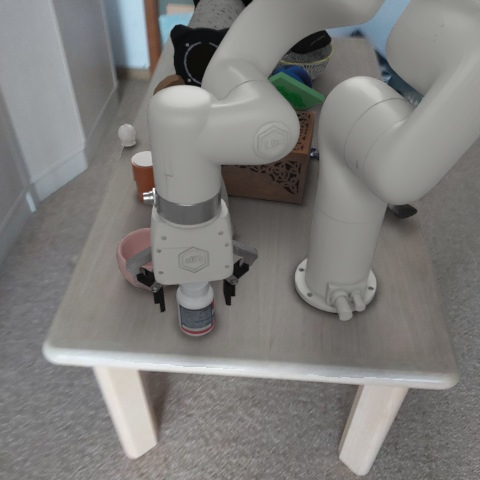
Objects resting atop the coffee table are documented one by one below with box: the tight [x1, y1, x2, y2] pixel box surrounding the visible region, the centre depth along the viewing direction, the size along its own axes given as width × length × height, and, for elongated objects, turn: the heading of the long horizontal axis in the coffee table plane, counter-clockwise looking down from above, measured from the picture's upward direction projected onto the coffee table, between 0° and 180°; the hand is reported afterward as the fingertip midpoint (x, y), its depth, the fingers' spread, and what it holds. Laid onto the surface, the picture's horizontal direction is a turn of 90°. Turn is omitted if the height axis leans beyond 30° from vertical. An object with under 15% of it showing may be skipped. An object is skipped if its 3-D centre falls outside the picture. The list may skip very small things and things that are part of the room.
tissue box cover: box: [221, 110, 316, 205], centre depth 103 cm, size 26×14×10 cm, turn 79°
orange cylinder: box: [130, 150, 155, 203], centre depth 99 cm, size 5×5×8 cm
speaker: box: [169, 0, 253, 88], centre depth 129 cm, size 15×29×15 cm, turn 173°
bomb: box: [270, 65, 314, 90], centre depth 121 cm, size 10×11×15 cm
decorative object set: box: [117, 123, 138, 147], centre depth 113 cm, size 5×20×4 cm, turn 100°
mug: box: [116, 227, 169, 291], centre depth 86 cm, size 12×10×6 cm
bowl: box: [272, 43, 335, 81], centre depth 130 cm, size 16×16×8 cm
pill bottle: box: [175, 281, 216, 337], centre depth 78 cm, size 5×5×9 cm
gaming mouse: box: [284, 29, 332, 56], centre depth 125 cm, size 6×15×4 cm, turn 132°
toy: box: [268, 71, 326, 111], centre depth 105 cm, size 22×3×10 cm
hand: (194, 301), depth 78 cm, fingers open, 8 cm apart
